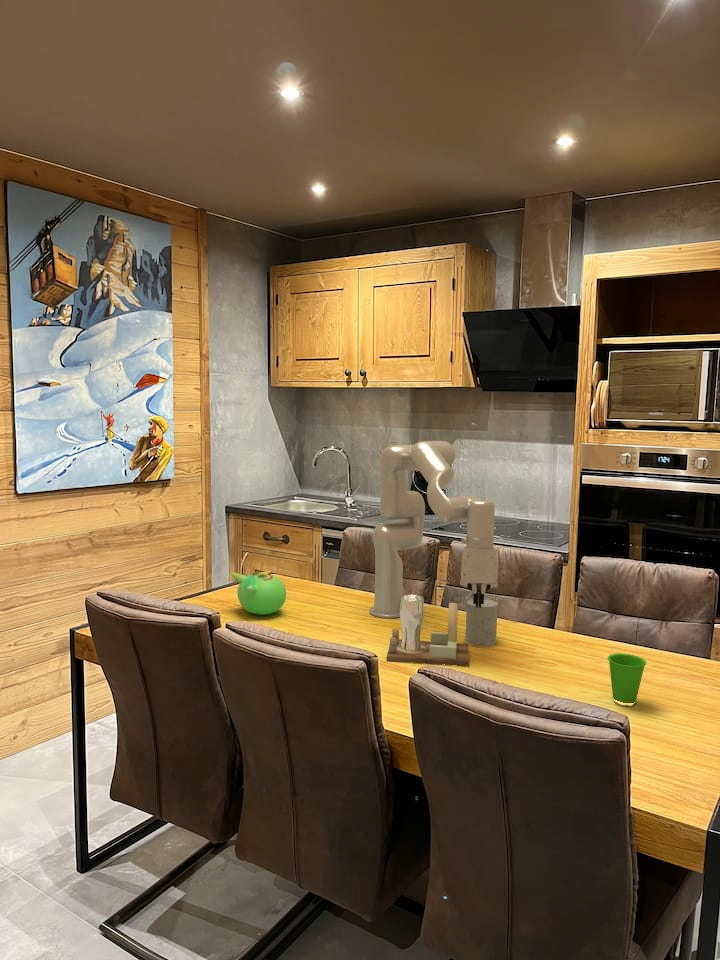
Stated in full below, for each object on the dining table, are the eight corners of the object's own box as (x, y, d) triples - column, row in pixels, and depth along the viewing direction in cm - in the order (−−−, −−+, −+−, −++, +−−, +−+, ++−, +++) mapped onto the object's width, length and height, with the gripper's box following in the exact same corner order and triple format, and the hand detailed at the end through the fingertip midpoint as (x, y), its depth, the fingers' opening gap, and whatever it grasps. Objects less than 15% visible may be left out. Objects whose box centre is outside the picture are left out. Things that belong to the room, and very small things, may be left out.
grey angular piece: (431, 642, 218) (432, 596, 217) (456, 643, 217) (457, 598, 216) (429, 657, 205) (430, 608, 204) (456, 659, 204) (457, 610, 203)
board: (391, 643, 221) (391, 626, 220) (467, 648, 218) (468, 630, 217) (386, 661, 206) (387, 642, 206) (468, 666, 203) (469, 647, 203)
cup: (599, 695, 185) (601, 653, 184) (633, 694, 186) (636, 653, 185) (614, 710, 176) (617, 666, 175) (650, 709, 177) (653, 666, 176)
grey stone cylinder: (499, 639, 227) (501, 601, 226) (491, 648, 219) (493, 608, 217) (470, 634, 231) (471, 596, 230) (461, 643, 223) (462, 604, 221)
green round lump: (294, 616, 246) (295, 574, 245) (249, 624, 237) (249, 580, 235) (270, 603, 261) (270, 563, 260) (226, 610, 252) (226, 568, 250)
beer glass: (421, 652, 209) (422, 601, 207) (397, 650, 210) (398, 599, 208) (424, 644, 215) (425, 595, 214) (400, 642, 217) (402, 593, 215)
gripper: (453, 544, 204) (451, 608, 205) (507, 546, 202) (505, 611, 204) (453, 539, 211) (452, 601, 213) (505, 541, 209) (504, 604, 211)
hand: (478, 606), depth 208 cm, fingers closed
